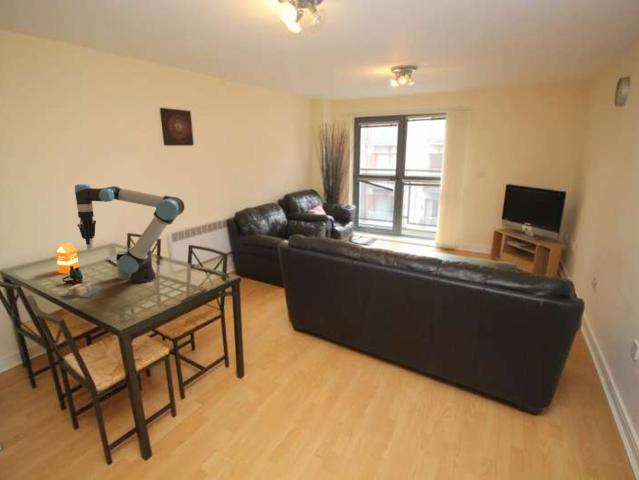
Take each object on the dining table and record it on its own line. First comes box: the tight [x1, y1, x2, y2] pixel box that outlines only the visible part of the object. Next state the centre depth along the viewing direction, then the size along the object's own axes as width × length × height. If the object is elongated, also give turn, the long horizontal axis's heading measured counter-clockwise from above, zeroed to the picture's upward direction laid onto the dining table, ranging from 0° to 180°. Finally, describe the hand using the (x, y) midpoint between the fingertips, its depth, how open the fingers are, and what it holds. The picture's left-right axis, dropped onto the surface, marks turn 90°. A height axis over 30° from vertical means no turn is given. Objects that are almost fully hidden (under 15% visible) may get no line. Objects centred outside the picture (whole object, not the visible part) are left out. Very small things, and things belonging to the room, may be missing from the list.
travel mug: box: [115, 250, 131, 280], centre depth 221 cm, size 8×8×18 cm
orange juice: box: [55, 241, 80, 274], centre depth 229 cm, size 8×9×20 cm
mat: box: [60, 286, 105, 299], centre depth 197 cm, size 16×14×1 cm
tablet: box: [106, 254, 117, 266], centre depth 257 cm, size 16×26×2 cm, turn 51°
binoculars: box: [62, 266, 84, 286], centre depth 209 cm, size 9×11×10 cm
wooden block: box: [67, 283, 91, 296], centre depth 195 cm, size 7×4×8 cm
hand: (90, 249), depth 201 cm, fingers closed
